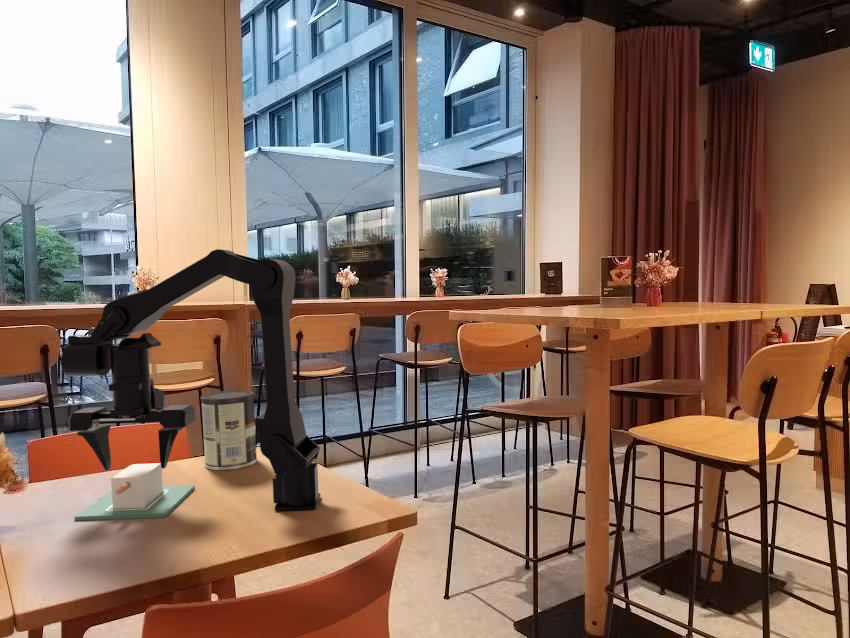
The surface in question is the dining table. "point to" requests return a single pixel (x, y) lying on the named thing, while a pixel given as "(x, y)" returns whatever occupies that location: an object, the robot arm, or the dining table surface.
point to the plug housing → (137, 486)
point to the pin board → (153, 510)
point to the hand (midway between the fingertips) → (136, 468)
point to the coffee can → (229, 429)
